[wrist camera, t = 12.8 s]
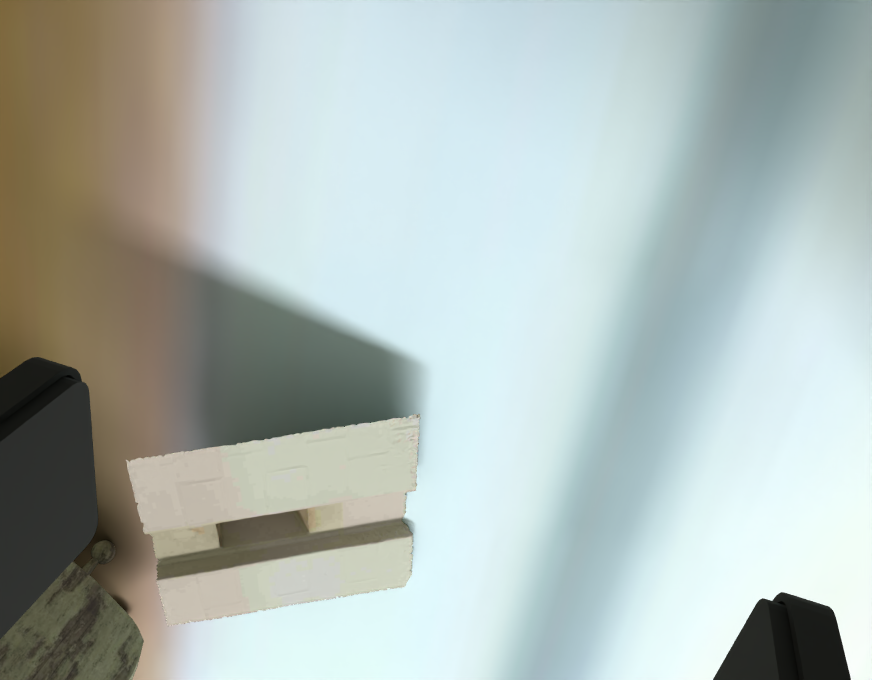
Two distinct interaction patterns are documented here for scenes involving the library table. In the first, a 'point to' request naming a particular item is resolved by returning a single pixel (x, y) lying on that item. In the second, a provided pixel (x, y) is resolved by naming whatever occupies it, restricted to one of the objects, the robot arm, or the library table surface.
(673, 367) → the library table surface
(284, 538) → the wall
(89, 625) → the tabletop clock
